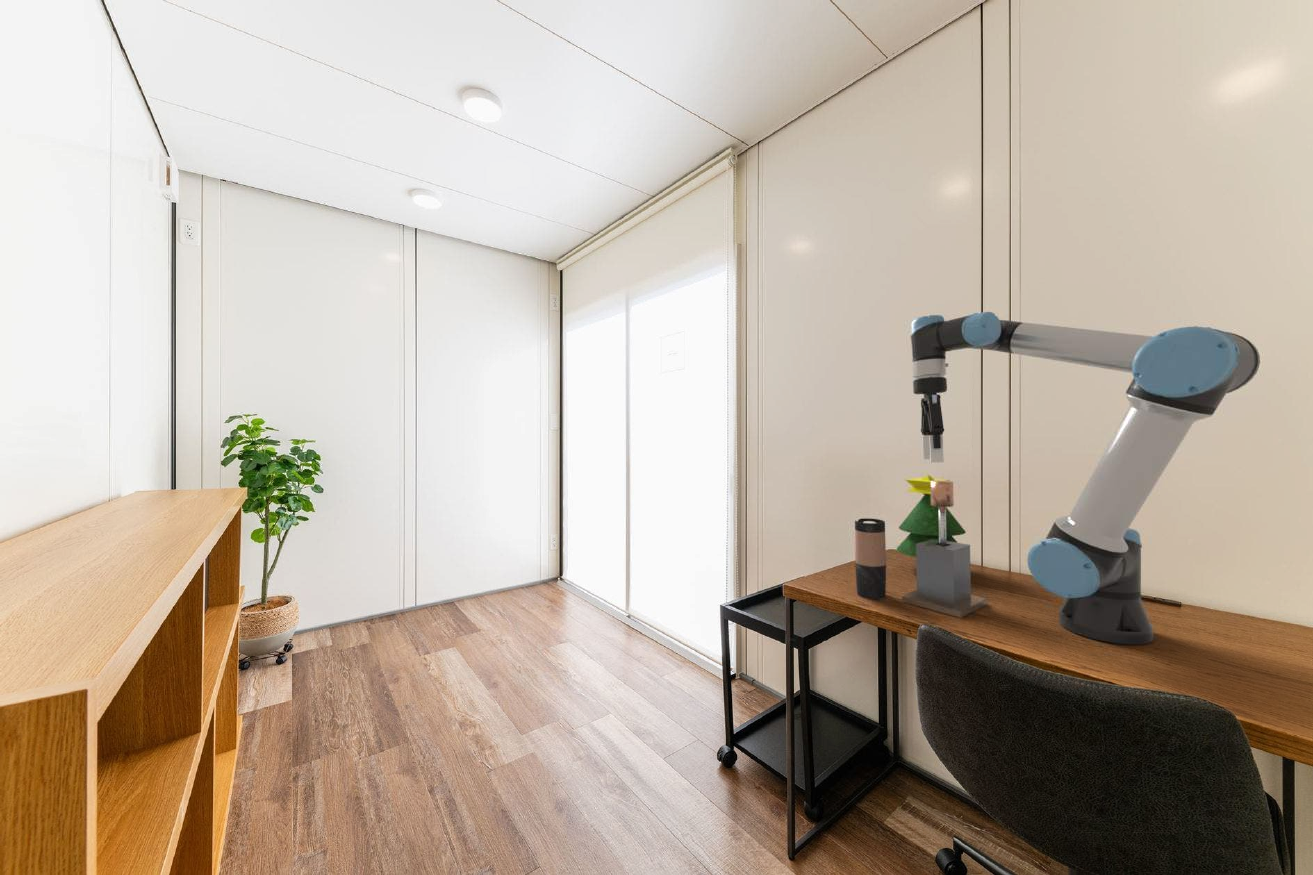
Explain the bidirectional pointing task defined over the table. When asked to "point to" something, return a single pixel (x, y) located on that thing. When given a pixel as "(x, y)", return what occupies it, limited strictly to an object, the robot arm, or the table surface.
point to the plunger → (942, 504)
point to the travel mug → (870, 558)
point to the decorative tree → (925, 519)
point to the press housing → (944, 579)
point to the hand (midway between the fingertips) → (932, 460)
